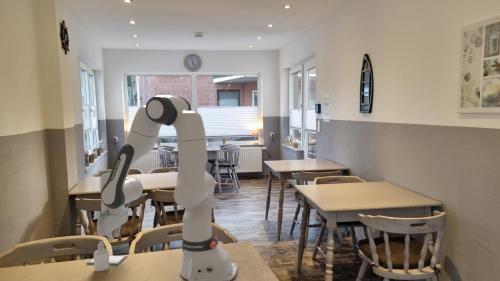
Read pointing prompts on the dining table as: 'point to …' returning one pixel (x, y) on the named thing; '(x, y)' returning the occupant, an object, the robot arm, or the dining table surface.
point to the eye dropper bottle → (101, 258)
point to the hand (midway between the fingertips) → (114, 238)
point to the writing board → (110, 263)
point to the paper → (113, 259)
